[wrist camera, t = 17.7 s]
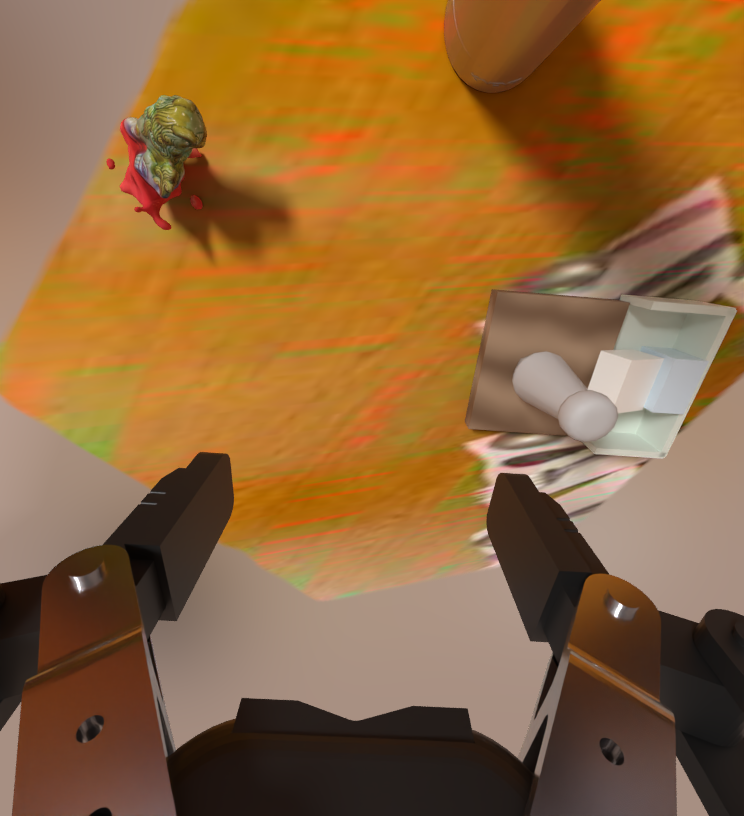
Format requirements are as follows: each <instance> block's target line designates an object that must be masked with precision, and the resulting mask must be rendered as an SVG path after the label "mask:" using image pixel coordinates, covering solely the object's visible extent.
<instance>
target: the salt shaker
mask: <svg viewBox="0 0 744 816" xmlns="http://www.w3.org/2000/svg"><path fill="white" fill-rule="evenodd" d="M512 382H513V386H514V390H515V392H516V394H517V395H518V396H519V397H520V398H521V399H522V400H523V401H525V402H527V403H529V404H530V405H532V406H534V407H536V408H538V409H540V410H542V411H544V412H546V413H547V414H549V415H551V416H553V417H555V418H557V419H558V420H559V425H560V427H561V428H562V429H563V430H564V431H565V432H566V433H567V435H568V436H569V437H571V438H573V439H574V440H578V441H581V442H591V441H596V440H598V439H600V438H602V437H604V436H606V435H607V434H608V433H609V432H610V431H611V430H612V429H613V428H614V426H615V424H616V421H617V419H618V411H617V407H616V406H615V405H614V403H613V402H612V401H611V400H610V399H609V398H608V397H607V396H606V395H604V394H602V393H599V392H596V391H593V390H588V389H587V388H586V387H585V385H584V384H583V383H582V382H581V380H580V379H579V378H578V377H577V375H576V374H575V373H574V372H573V370H572V369H571V368H570V367H569V365H568V364H567V363H566V362H565V361H564V360H563V359H562V357H561V356H559V355H556V354H553V353H550V352H547V351H545V352H538V353H533V354H531V355H529V356H527V357H524V358H521V359H520V361H519V363H518V364H517V366H516V368H515V370H514V372H513V377H512Z"/></svg>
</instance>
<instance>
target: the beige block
mask: <svg viewBox="0 0 744 816" xmlns="http://www.w3.org/2000/svg"><path fill="white" fill-rule="evenodd" d="M663 360H664V358H661V357H658V356H654V355H651V354H648V353H644V352H641V351H637V350H634V349H623V350H601V352H600V355H599V358H598V361H597V363H596V366H595V369H594V372H593V375H592V378H591V381H590V384H589V387H588V390H593V391H596V392H599V393H602V394H604V395H606V396H607V397H608V398H609V399H610V400H611V401H612V402H613V403H614V405H615V406H616V407H617V411H618V413H624V412H631V411H639V410H643V407H644V405H645V403H646V400H647V398H648V396H649V393H650V391H651V389H652V386H653V384H654V382H655V379H656V377H657V374H658V372H659V370H660V367H661V365H662V363H663Z"/></svg>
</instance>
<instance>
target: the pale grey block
mask: <svg viewBox="0 0 744 816" xmlns="http://www.w3.org/2000/svg"><path fill="white" fill-rule="evenodd" d="M640 351H641V352H644V353H648V354H651V355H654V356H658V357H661V358H664V360H663V363H662V365H661V367H660V370H659V372H658V374H657V377H656V379H655V382H654V384H653V386H652V389H651V391H650V393H649V396H648V398H647V400H646V403H645V405H644V408H646V409H647V410H649V411H651V412H654V413H669V414H684V413H685V410H686V408H687V406H688V404H689V402H690V400H691V398H692V396H693V394H694V392H695V390H696V387H697V385H698V383H699V381H700V379H701V377H702V375H703V373H704V371H705V369H706V367H707V364H708V362H709V361H707V360H704V359H701V358H698V357H695V356H693V355H690V354H687V353H684V352H681V351H679V350H676V349H673V348H663V347H649V346H642V347H641V350H640Z"/></svg>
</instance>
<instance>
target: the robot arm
mask: <svg viewBox="0 0 744 816" xmlns="http://www.w3.org/2000/svg"><path fill="white" fill-rule="evenodd" d="M600 1H601V0H448V4H447V7H446V13H445V21H444V36H445V44H446V49H447V54H448V56H449V59H450V62H451V64H452V66H453V68H454V70H455V71H456V73H457V74H458V76H459V77H460V78H461V79H462V80H463V81H464V82H465V83H466V84H467V85H469V86H471V87H472V88H474V89H476V90H478V91H482V92H486V93H498V92H502V91H505V90H509V89H511V88H513V87H515V86H516V85H518V84H520V83H521V82H522V81H524V80H525V79H526V78H527V77H528V76H529V75H530V74H531V73H532V72H533V71H534V70H535V69H536V68H537V67H538V66H539V65H540V64H541V63H542V62H543V61H544V60H545V59H546V58H547V57H548V56H549V55H550V54H551V53H552V52H553V50H554V49H555V48H556V47H557V46H558V45H559V44H560V43H561V42H562V41H563V40H564V39H565V38H566V37H567V36H568V35H569V34H570V32H571V31H572V30H573V29H574V28H575V27H576V26H577V25H578V24H579V23H580V22H581V21H582V20H583V19H584V18H585V17H586V15H587V14H588V13H589V12H590V11H591V10H592V9H593V8H594V7H595V6H596V5H597V4H598V3H599V2H600ZM233 503H234V494H233V484H232V474H231V464H230V458H229V455H228V454H223V453H208V452H200V453H198V454H197V455H196V457H195V458H194V459H193V460H192V462H191V463H190V464H189V465H188V466H187V468H178V469H176V470H175V471H173V472H171V473H170V474H168V475H166V476H165V477H163V478H162V479H161V480H160V481H159V482H158V483H157V484H156V485H155V486H154V488H153V489H152V490H151V492H150V494H147V496H146V497H145V498H144V499H143V500H142V501H141V504H140V505H138V506H137V507H136V508H135V509H134V510H133V511H132V512H131V514H130V515H129V516H128V517H127V518H126V519H125V520H124V521H123V523H122V524H121V525H120V526H119V527H118V528H117V529H116V531H115V532H114V533H113V534H112V535H111V536H110V537H109V538H108V539H107V541H106V542H105V543H104V544H103V545H99V546H93V547H90V548H86V549H84V550H81V551H79V552H76V553H74V554H72V555H71V556H69V557H67V558H66V559H64V560H63V561H61V562H60V563H59V564H57V565H56V566H55V567H54V568H53V569H52V570H51V571H50V572H49V574H48V575H44V576H39V577H33V578H28V579H23V580H17V581H12V582H7V583H1V584H0V731H1V729H2V728H3V726H4V725H5V724H6V722H7V721H8V719H9V718H10V717H11V715H12V714H13V712H14V711H15V709H16V708H17V707H18V705H19V704H20V702H21V712H20V724H19V736H18V749H17V761H16V773H15V784H14V796H13V809H12V816H677V798H676V756H677V758H678V760H679V761H680V763H681V765H682V767H683V768H684V770H685V772H686V774H687V776H688V778H689V780H690V781H691V783H692V785H693V787H694V789H695V791H696V793H697V794H698V796H699V798H700V800H701V802H702V804H703V805H704V807H705V809H706V811H707V813H708V815H709V816H744V616H742V615H740V614H737V613H735V612H731V611H728V610H722V609H714V610H710V611H708V612H707V613H706V614H705V616H704V617H703V618H702V620H701V622H700V623H696V622H693V621H690V620H687V619H684V618H680V617H677V616H674V615H671V614H668V613H665V612H662V611H658V610H657V608H656V606H655V605H654V603H653V602H652V601H651V600H650V599H649V598H648V597H647V596H646V595H645V594H644V593H643V592H642V591H641V590H639V589H638V588H637V587H635V586H633V585H632V584H631V583H629V582H627V581H625V580H623V579H621V578H618V577H615V576H612V575H609V573H608V572H607V571H606V569H605V567H604V566H603V565H602V563H601V562H600V560H599V559H598V558H597V556H596V555H595V553H594V552H593V551H592V549H591V548H590V546H589V545H588V544H587V542H586V541H585V539H584V538H583V537H582V535H581V534H580V533H578V529H577V528H576V527H575V525H574V524H573V522H572V521H570V518H569V517H568V515H567V514H566V512H565V511H564V510H563V508H562V507H561V505H560V504H558V503H557V502H556V501H555V500H553V499H552V498H551V497H550V496H548V495H547V494H546V493H542V492H539V491H538V490H537V488H536V487H535V485H534V484H533V482H532V480H531V479H530V478H529V476H528V475H526V474H511V473H500V474H499V475H498V477H497V479H496V483H495V487H494V490H493V494H492V498H491V501H490V505H489V509H488V513H487V531H488V535H489V537H490V540H491V542H492V545H493V547H494V550H495V552H496V555H497V558H498V560H499V563H500V565H501V568H502V570H503V572H504V575H505V578H506V580H507V583H508V586H509V588H510V591H511V593H512V596H513V598H514V601H515V603H516V606H517V608H518V611H519V613H520V616H521V619H522V621H523V624H524V626H525V629H526V631H527V634H528V636H529V639H530V641H536V642H549V644H550V647H551V649H552V651H553V653H552V655H551V657H550V659H549V662H548V665H547V669H546V672H545V676H544V679H543V682H542V685H541V689H540V692H539V696H538V699H537V702H536V706H535V709H534V712H533V716H532V719H531V722H530V726H529V728H528V731H527V734H526V737H525V740H524V743H523V745H522V748H521V750H520V753H519V755H518V758H517V757H515V756H514V755H513V754H512V753H511V752H510V751H508V750H507V749H506V748H504V747H503V746H501V745H500V744H499V743H497V742H495V741H494V740H493V739H491V738H489V737H487V736H485V735H483V734H481V733H479V732H477V731H474V730H472V728H471V723H470V718H469V714H468V709H466V708H444V707H443V708H442V707H423V706H422V707H421V706H411V707H408V708H404V709H400V710H397V711H393V712H389V713H386V714H382V715H379V716H375V717H372V718H367V719H364V720H360V721H352V720H348V719H346V718H343V717H340V716H338V715H335V714H332V713H330V712H327V711H324V710H322V709H319V708H316V707H314V706H311V705H308V704H305V703H302V702H300V701H294V700H272V699H249V698H242V699H241V702H240V706H239V709H238V713H237V716H236V719H233V720H229V721H226V722H223V723H221V724H218V725H216V726H213V727H211V728H209V729H207V730H206V731H204V732H202V733H200V734H198V735H197V736H195V737H194V738H192V739H191V740H189V741H188V742H187V743H185V744H183V745H182V746H181V747H179V748H178V749H177V750H176V748H175V744H174V740H173V736H172V732H171V728H170V723H169V720H168V715H167V710H166V706H165V701H164V696H163V692H162V687H161V682H160V677H159V673H158V668H157V663H156V659H155V654H154V649H153V644H152V640H151V636H150V634H151V632H152V631H153V629H154V627H155V625H156V624H157V622H158V620H167V621H177V619H178V617H179V615H180V613H181V611H182V610H183V608H184V606H185V604H186V602H187V600H188V598H189V596H190V594H191V592H192V590H193V588H194V586H195V584H196V582H197V580H198V579H199V577H200V574H201V573H202V571H203V569H204V567H205V565H206V563H207V561H208V559H209V557H210V555H211V553H212V551H213V549H214V548H215V545H216V544H217V542H218V540H219V538H220V536H221V534H222V532H223V530H224V528H225V526H226V524H227V522H228V520H229V518H230V516H231V513H232V509H233Z"/></svg>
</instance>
